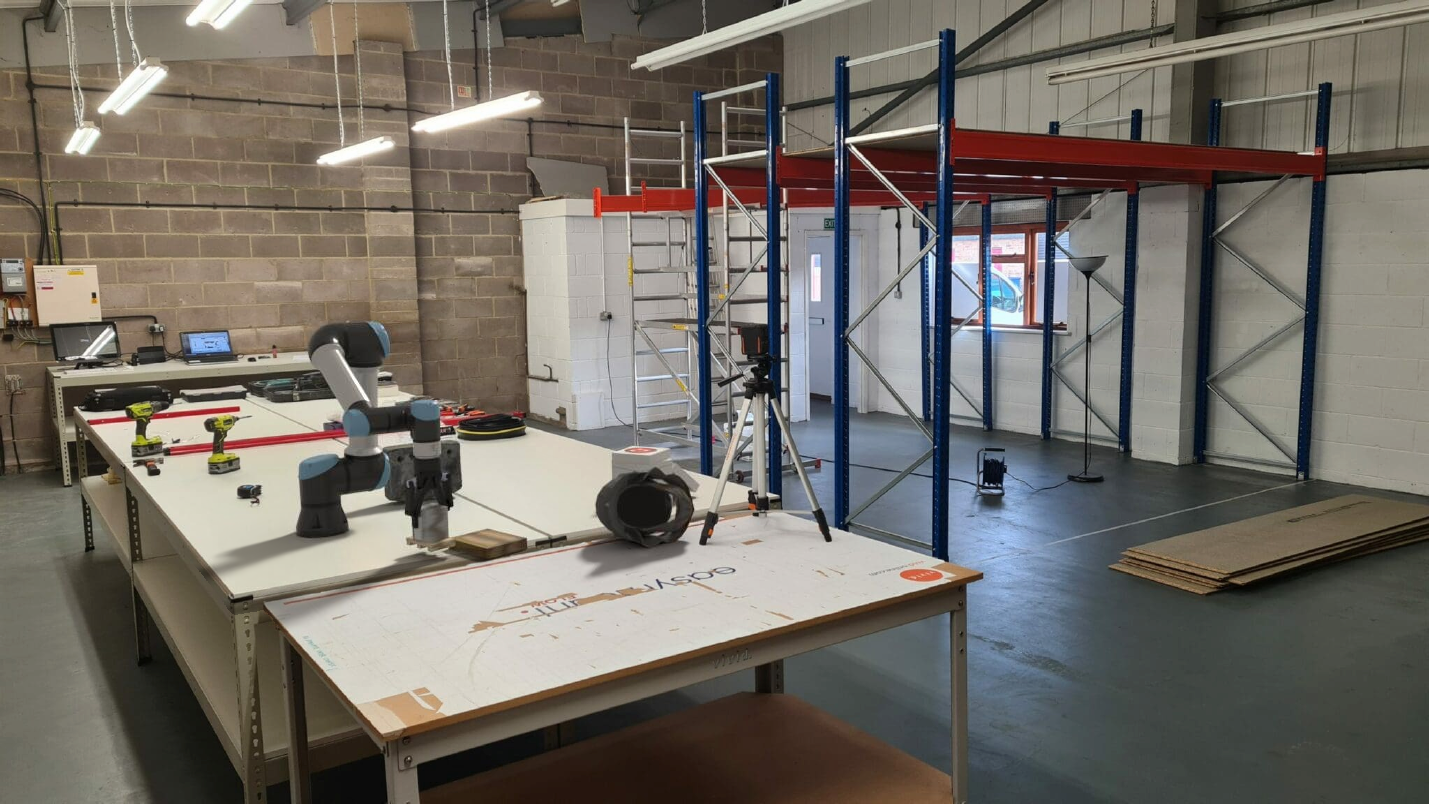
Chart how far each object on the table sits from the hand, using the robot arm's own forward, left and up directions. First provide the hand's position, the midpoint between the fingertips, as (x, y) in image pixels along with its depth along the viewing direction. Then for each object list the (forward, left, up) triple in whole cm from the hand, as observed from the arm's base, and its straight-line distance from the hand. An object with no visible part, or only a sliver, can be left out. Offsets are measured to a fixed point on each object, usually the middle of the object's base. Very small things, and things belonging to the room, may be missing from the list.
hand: (430, 536), depth 276 cm
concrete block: (+40, +63, -6) cm, 74 cm away
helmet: (+48, -35, -6) cm, 60 cm away
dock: (+14, -7, -5) cm, 17 cm away
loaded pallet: (0, 0, -3) cm, 3 cm away
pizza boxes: (+90, -2, -6) cm, 90 cm away
